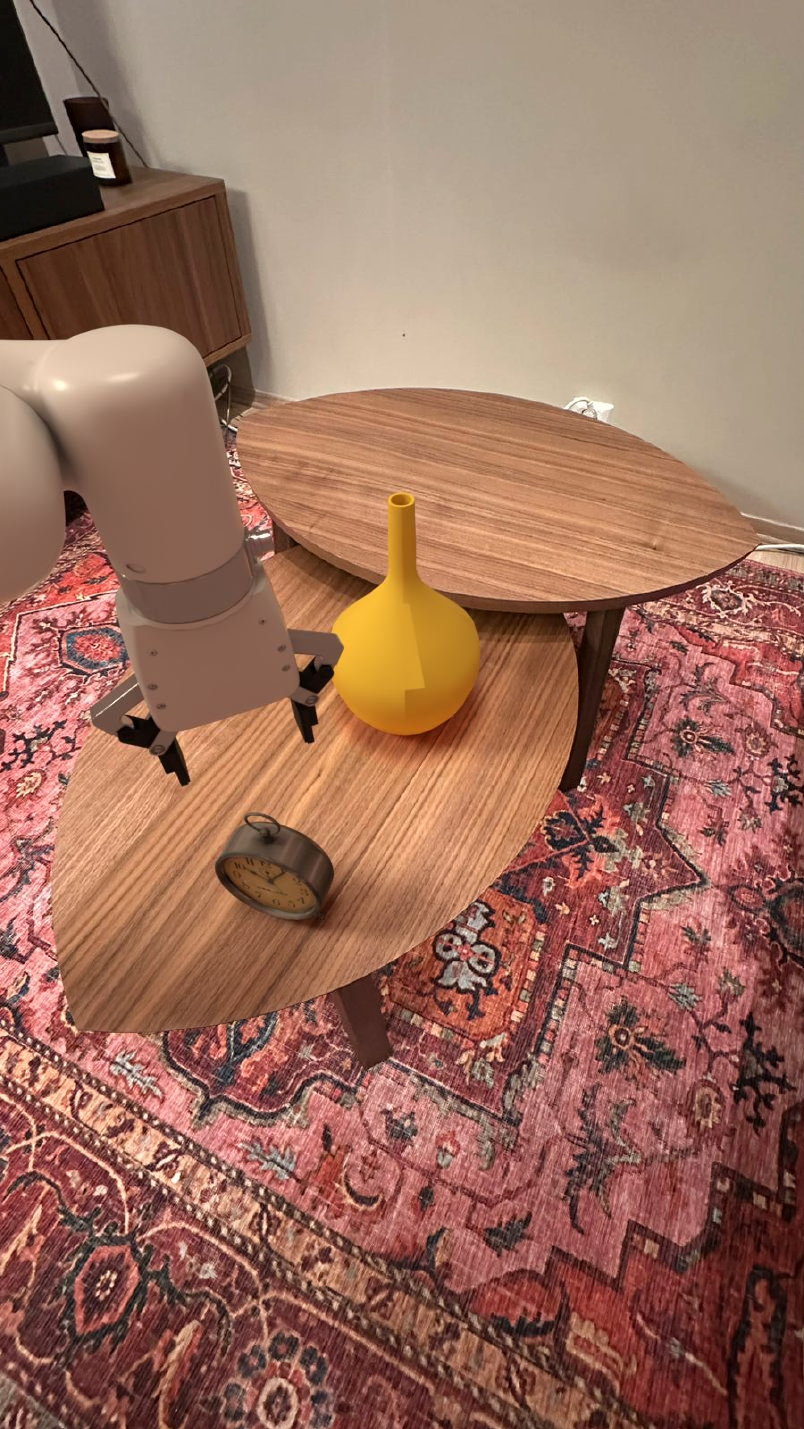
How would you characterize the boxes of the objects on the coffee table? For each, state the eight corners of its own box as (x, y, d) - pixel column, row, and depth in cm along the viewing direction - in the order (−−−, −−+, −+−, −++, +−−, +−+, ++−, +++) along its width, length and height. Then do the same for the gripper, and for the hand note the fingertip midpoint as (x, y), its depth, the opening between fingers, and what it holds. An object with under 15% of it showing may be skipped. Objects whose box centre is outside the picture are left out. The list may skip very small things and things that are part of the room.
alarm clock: (227, 908, 71) (188, 823, 58) (250, 863, 74) (217, 774, 62) (326, 937, 68) (307, 855, 56) (345, 889, 72) (330, 803, 60)
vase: (306, 726, 87) (268, 521, 64) (380, 639, 97) (369, 437, 75) (434, 783, 81) (441, 579, 58) (498, 684, 91) (525, 479, 69)
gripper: (308, 502, 44) (334, 684, 57) (26, 572, 40) (124, 751, 53) (348, 566, 39) (367, 749, 52) (34, 653, 35) (139, 828, 48)
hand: (245, 750), depth 53 cm, fingers open, 9 cm apart
